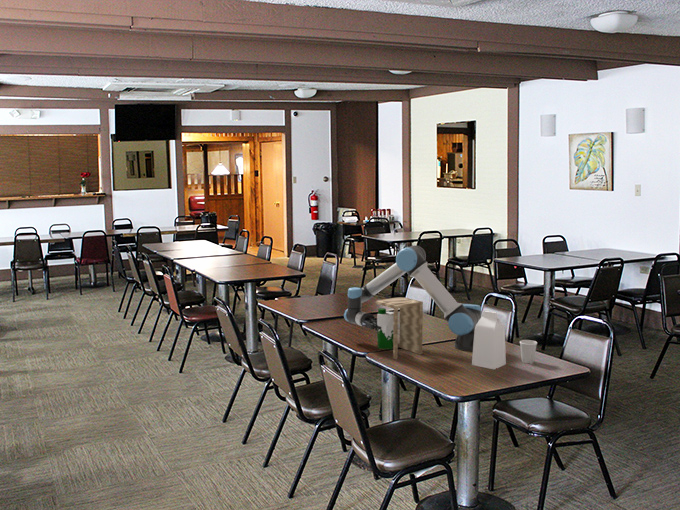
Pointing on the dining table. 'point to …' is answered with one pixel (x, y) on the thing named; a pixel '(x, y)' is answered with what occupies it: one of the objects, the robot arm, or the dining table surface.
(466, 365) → the dining table surface
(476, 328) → the milk
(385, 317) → the soya milk
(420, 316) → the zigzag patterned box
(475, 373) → the dining table surface
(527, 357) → the dixie cup
